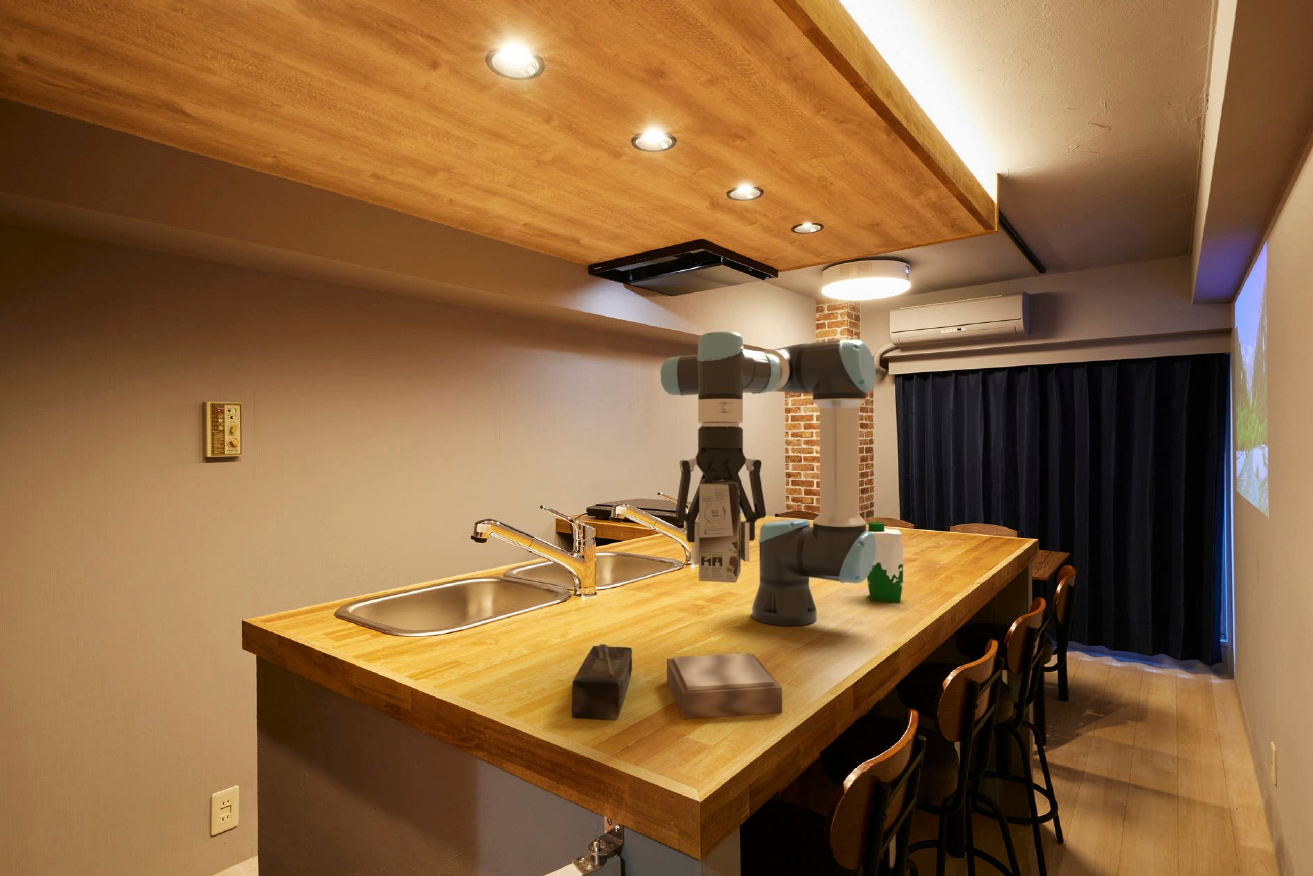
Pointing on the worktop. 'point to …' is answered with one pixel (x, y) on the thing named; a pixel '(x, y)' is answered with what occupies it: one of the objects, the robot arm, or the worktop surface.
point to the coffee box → (719, 531)
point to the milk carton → (886, 564)
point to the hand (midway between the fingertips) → (720, 560)
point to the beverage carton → (602, 683)
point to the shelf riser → (722, 686)
